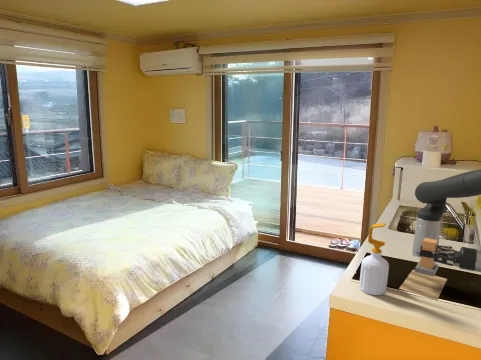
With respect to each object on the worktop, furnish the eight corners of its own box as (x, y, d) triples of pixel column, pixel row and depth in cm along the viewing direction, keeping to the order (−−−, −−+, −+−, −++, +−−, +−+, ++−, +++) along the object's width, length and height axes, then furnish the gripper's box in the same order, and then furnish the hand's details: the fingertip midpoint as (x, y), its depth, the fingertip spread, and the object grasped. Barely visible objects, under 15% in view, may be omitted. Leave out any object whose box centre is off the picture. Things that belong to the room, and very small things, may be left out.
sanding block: (420, 263, 137) (423, 235, 135) (438, 268, 133) (441, 239, 131) (414, 271, 130) (418, 241, 128) (433, 276, 126) (437, 246, 124)
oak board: (412, 273, 144) (412, 269, 144) (446, 282, 137) (447, 278, 137) (398, 292, 129) (399, 288, 129) (436, 304, 122) (437, 300, 121)
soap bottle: (383, 298, 124) (391, 229, 119) (356, 291, 129) (362, 224, 124) (388, 288, 132) (396, 222, 127) (362, 281, 136) (369, 217, 132)
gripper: (475, 243, 129) (421, 234, 137) (480, 256, 117) (420, 246, 125) (472, 263, 131) (419, 253, 138) (476, 278, 118) (418, 267, 126)
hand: (420, 250), depth 131 cm, fingers closed on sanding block, 4 cm apart
